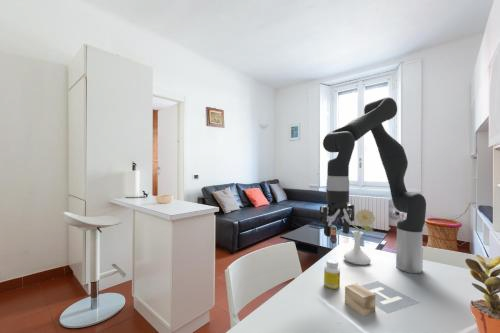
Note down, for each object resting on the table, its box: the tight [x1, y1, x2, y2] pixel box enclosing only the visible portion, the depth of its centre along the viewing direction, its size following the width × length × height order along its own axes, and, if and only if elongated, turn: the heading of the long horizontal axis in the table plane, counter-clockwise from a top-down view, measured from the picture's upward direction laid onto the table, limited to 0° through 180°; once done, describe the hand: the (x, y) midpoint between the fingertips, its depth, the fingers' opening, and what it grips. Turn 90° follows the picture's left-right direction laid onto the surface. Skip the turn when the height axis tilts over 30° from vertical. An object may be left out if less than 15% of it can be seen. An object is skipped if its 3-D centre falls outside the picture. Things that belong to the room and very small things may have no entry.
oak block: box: [344, 283, 376, 316], centre depth 73 cm, size 5×7×6 cm
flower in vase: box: [343, 208, 376, 266], centre depth 109 cm, size 13×11×25 cm
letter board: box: [360, 280, 420, 314], centre depth 80 cm, size 15×15×1 cm
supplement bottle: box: [323, 258, 341, 291], centre depth 86 cm, size 5×5×10 cm
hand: (336, 234), depth 84 cm, fingers open, 8 cm apart
